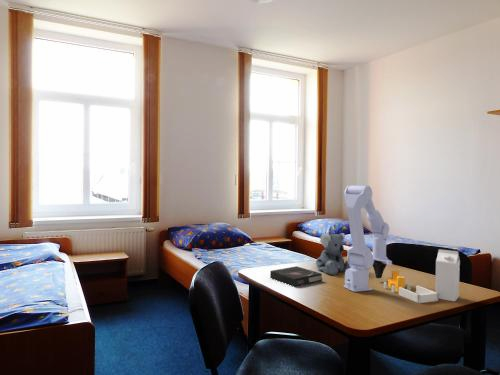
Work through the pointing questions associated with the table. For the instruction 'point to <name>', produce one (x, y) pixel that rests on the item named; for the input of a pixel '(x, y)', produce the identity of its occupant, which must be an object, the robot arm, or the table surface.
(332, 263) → the koala plush
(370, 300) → the table surface
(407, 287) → the clips
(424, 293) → the end holder
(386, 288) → the small blocks
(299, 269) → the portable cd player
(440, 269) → the milk carton
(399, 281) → the pipe clamp
